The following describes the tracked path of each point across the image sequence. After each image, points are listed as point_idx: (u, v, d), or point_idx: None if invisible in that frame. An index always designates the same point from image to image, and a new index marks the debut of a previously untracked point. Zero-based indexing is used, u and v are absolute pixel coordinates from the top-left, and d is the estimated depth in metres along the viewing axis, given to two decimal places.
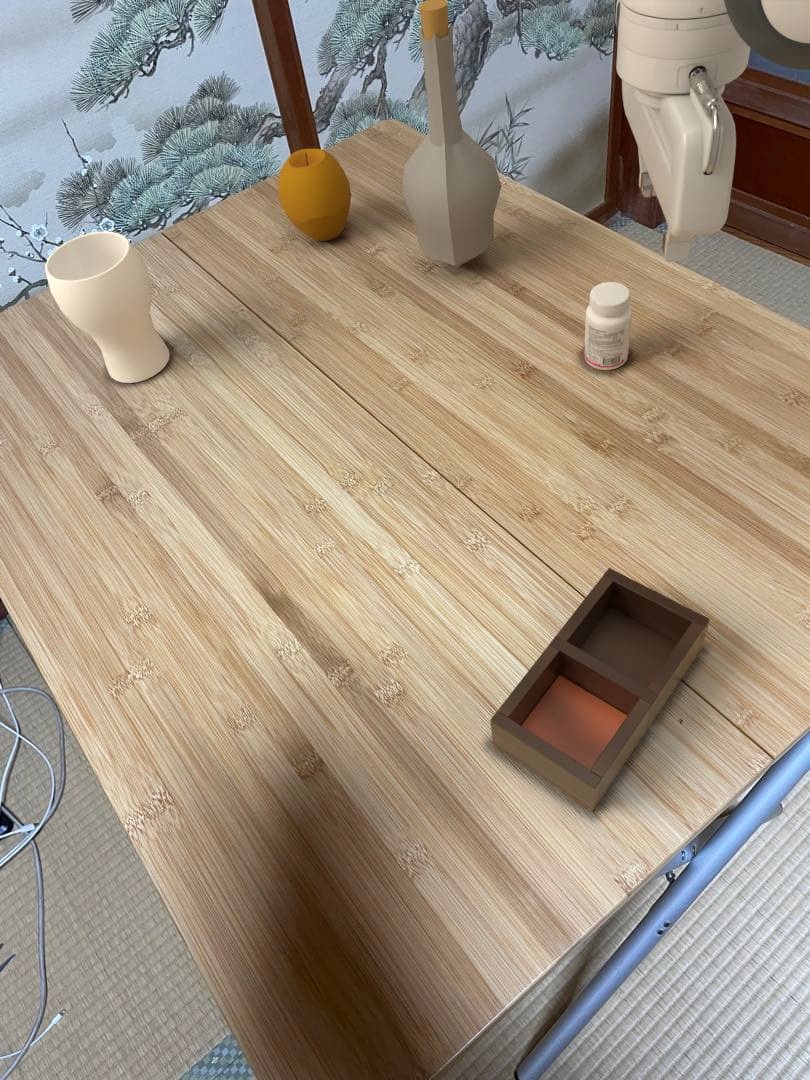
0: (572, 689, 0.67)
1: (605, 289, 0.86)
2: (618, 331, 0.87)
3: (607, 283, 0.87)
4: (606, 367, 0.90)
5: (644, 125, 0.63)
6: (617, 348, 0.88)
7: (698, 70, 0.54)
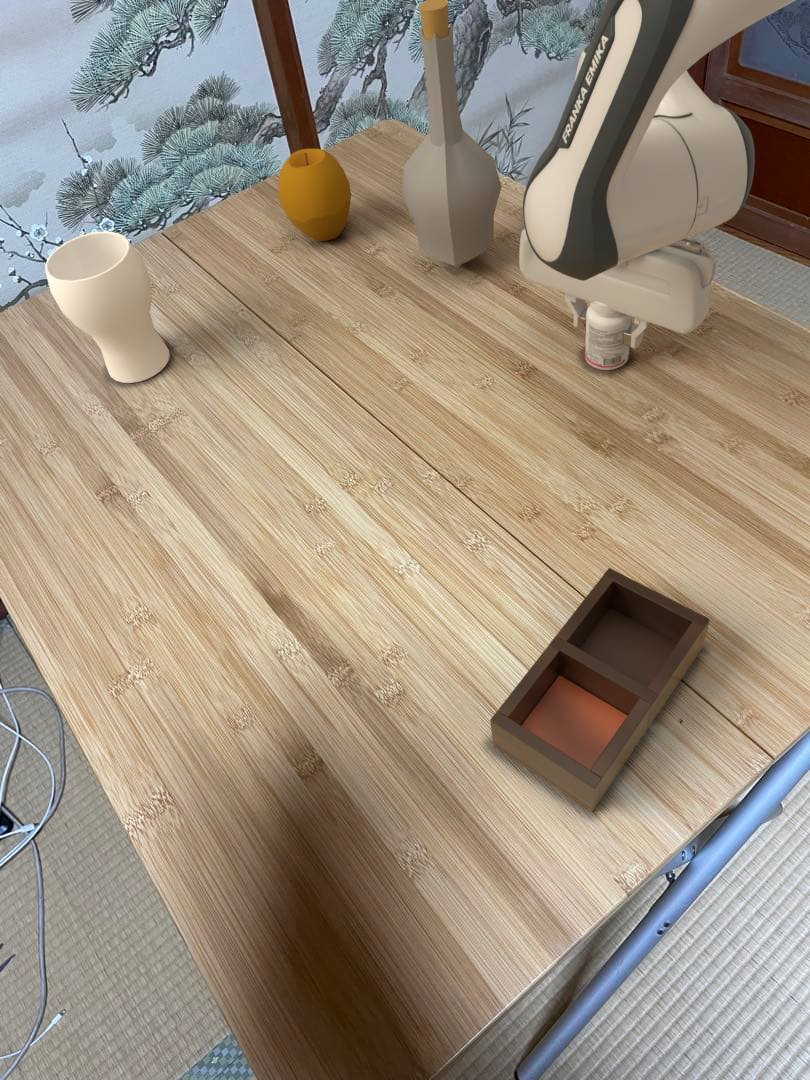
0: (572, 689, 0.67)
1: None
2: (619, 331, 0.87)
3: None
4: (607, 367, 0.90)
5: (589, 280, 0.84)
6: (618, 348, 0.88)
7: None
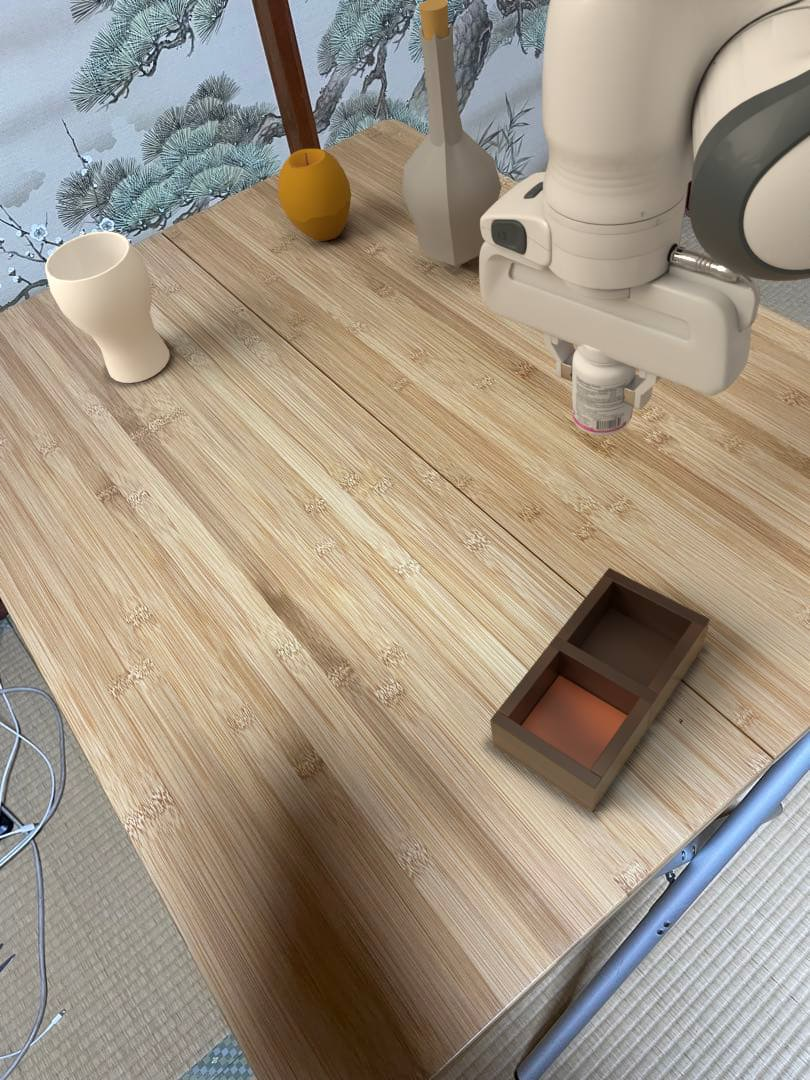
0: (572, 689, 0.67)
1: None
2: (617, 386, 0.62)
3: None
4: (602, 432, 0.66)
5: (574, 315, 0.59)
6: (617, 407, 0.64)
7: (678, 249, 0.52)
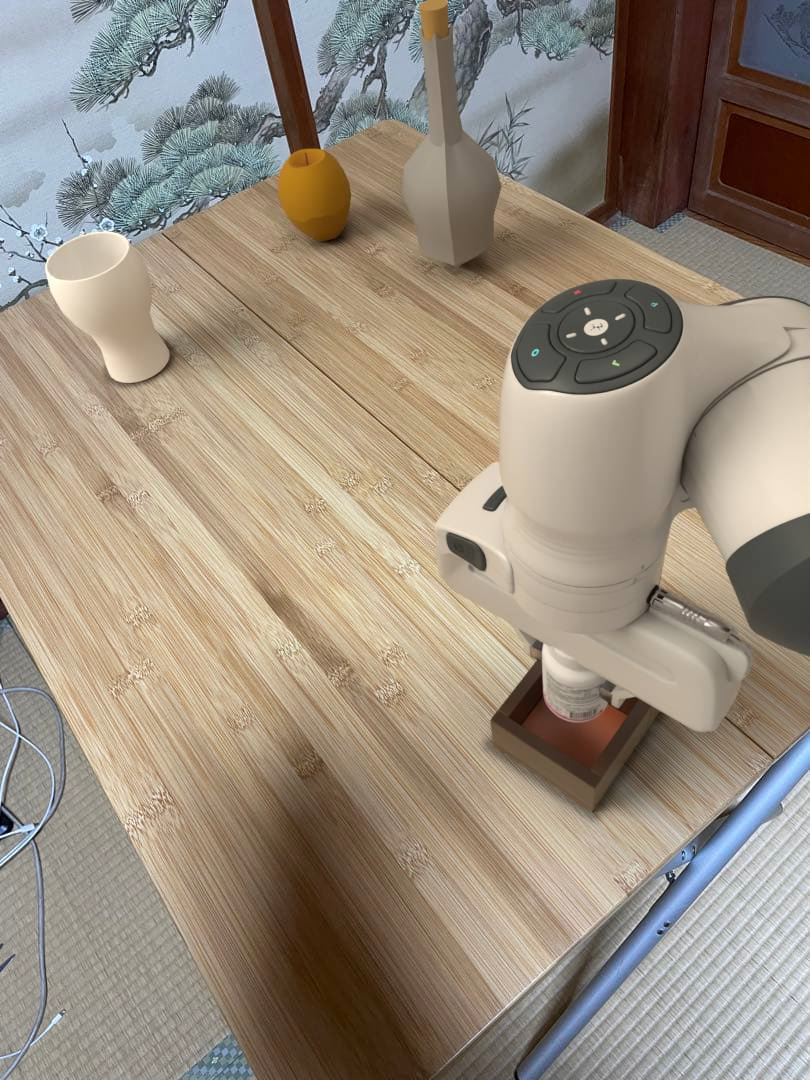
0: None
1: None
2: (592, 687, 0.55)
3: None
4: (576, 720, 0.59)
5: None
6: (592, 702, 0.57)
7: (659, 594, 0.45)
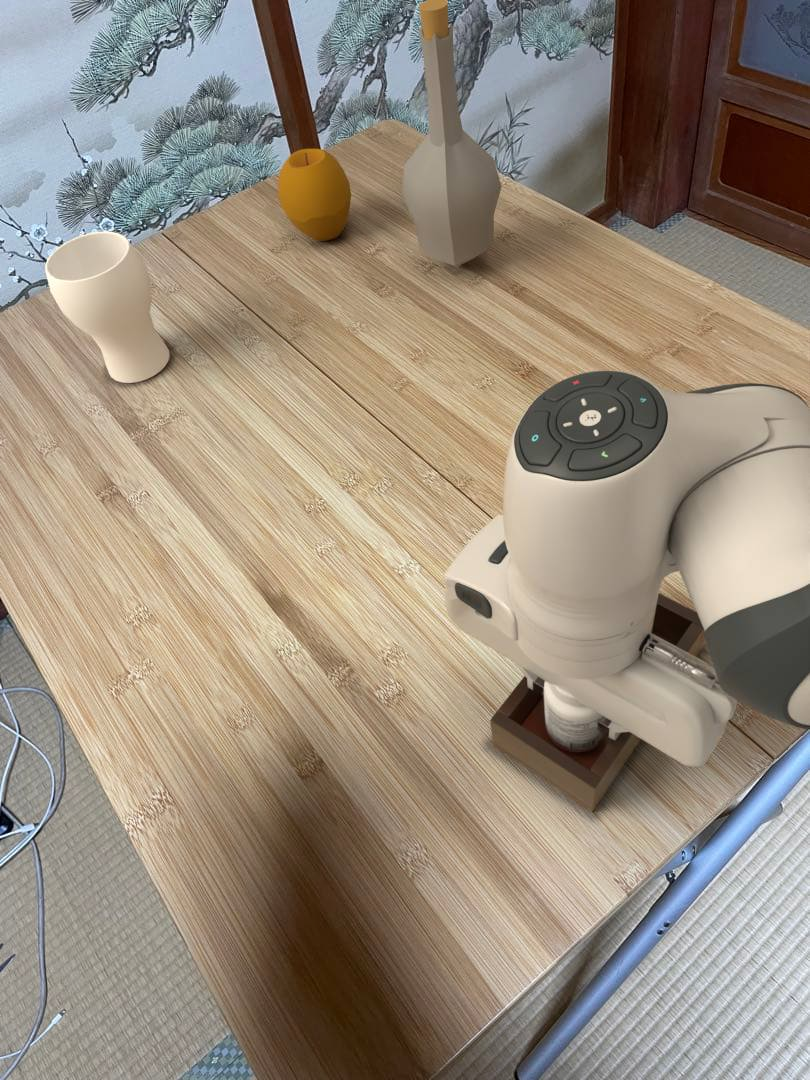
0: None
1: None
2: (591, 721, 0.59)
3: None
4: (576, 750, 0.63)
5: None
6: (591, 734, 0.61)
7: (651, 643, 0.49)
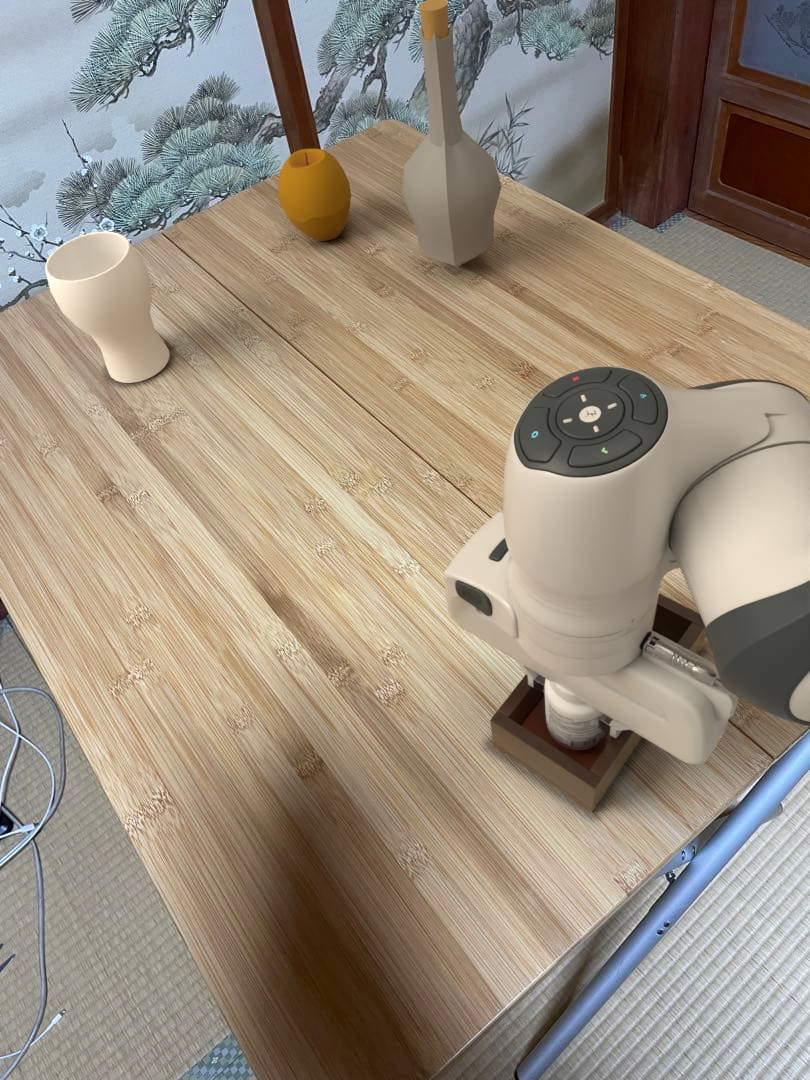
0: None
1: None
2: (592, 719, 0.59)
3: None
4: (577, 748, 0.63)
5: None
6: (592, 732, 0.61)
7: (651, 641, 0.49)
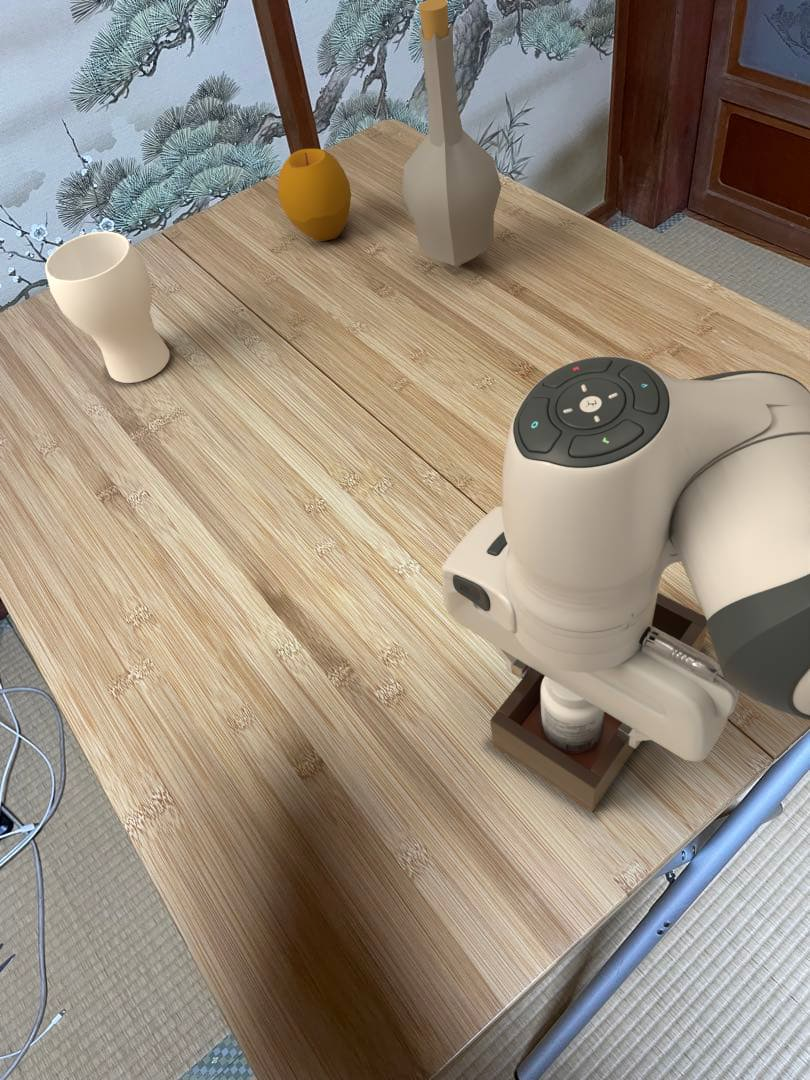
0: None
1: None
2: (587, 723, 0.60)
3: None
4: (572, 752, 0.64)
5: None
6: (586, 736, 0.62)
7: (651, 636, 0.48)
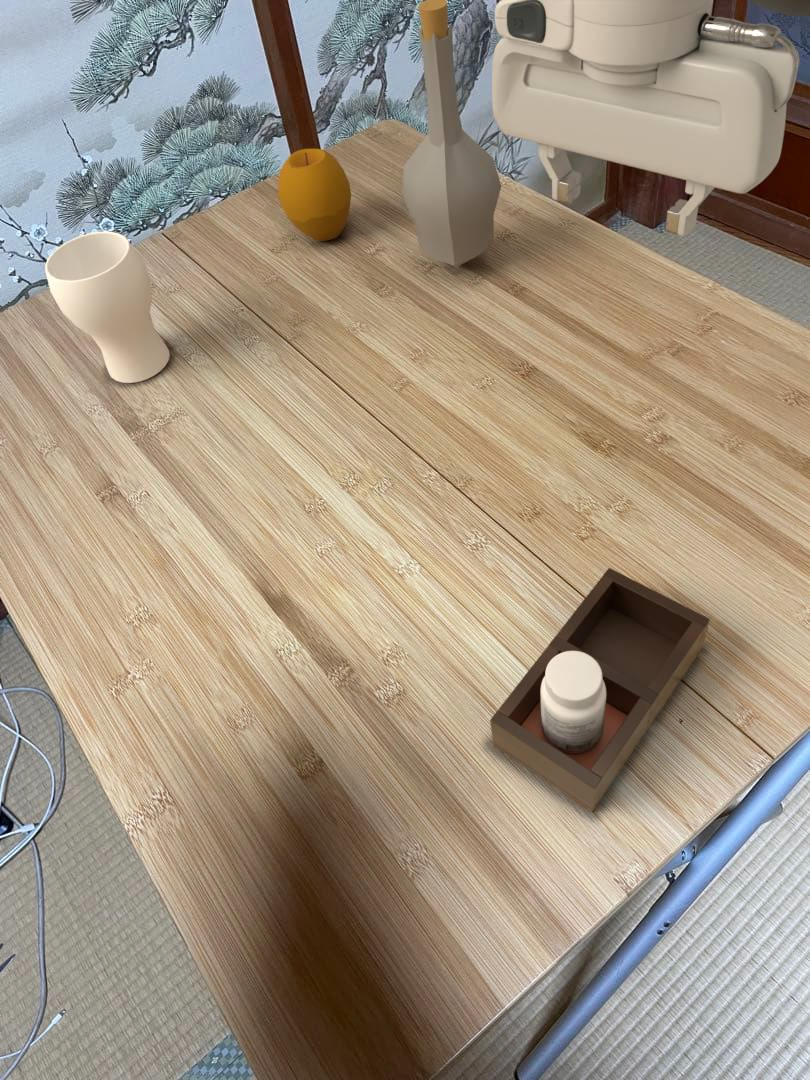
0: None
1: (568, 666, 0.59)
2: (587, 723, 0.60)
3: (570, 654, 0.60)
4: (572, 752, 0.64)
5: (595, 118, 0.56)
6: (586, 736, 0.62)
7: (710, 17, 0.48)
